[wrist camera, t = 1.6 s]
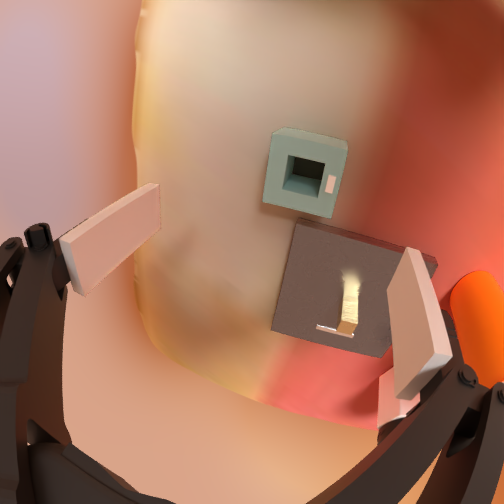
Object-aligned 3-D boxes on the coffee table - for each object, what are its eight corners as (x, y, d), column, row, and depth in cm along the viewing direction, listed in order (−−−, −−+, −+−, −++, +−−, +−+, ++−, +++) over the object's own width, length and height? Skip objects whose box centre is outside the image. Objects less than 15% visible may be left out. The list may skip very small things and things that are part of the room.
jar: (373, 368, 38) (369, 438, 28) (423, 353, 33) (430, 425, 24) (388, 395, 40) (384, 456, 30) (432, 383, 36) (435, 446, 26)
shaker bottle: (433, 287, 28) (463, 448, 12) (492, 250, 23) (563, 396, 7) (453, 329, 30) (474, 466, 14) (505, 298, 25) (550, 429, 9)
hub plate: (298, 217, 29) (288, 243, 25) (435, 257, 26) (447, 287, 22) (273, 322, 38) (262, 352, 34) (381, 350, 35) (381, 381, 31)
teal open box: (284, 126, 25) (271, 133, 20) (347, 141, 24) (348, 151, 19) (275, 184, 28) (261, 202, 24) (333, 198, 27) (330, 220, 23)
